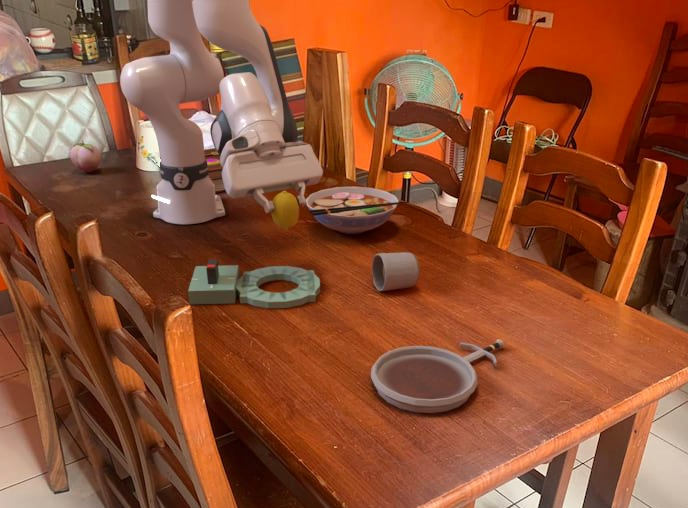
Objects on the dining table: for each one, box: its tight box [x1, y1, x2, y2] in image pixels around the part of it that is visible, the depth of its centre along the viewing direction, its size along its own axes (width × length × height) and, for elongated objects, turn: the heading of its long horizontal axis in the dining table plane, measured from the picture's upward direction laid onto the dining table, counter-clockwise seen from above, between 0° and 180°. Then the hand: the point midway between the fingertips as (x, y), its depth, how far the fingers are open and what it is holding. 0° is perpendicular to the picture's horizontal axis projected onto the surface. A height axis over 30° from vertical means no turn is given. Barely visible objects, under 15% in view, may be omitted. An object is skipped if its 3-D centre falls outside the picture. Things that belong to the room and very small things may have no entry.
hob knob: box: [206, 259, 219, 284], centre depth 136 cm, size 4×2×4 cm, turn 3°
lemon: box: [271, 190, 300, 231], centre depth 133 cm, size 6×6×8 cm
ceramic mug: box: [371, 251, 421, 292], centre depth 139 cm, size 11×8×8 cm
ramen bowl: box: [305, 186, 411, 235], centre depth 167 cm, size 25×23×8 cm
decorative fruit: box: [69, 139, 102, 174], centre depth 210 cm, size 9×8×10 cm
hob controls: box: [187, 264, 240, 305], centre depth 138 cm, size 12×9×3 cm
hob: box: [236, 265, 321, 309], centre depth 139 cm, size 17×17×2 cm
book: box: [204, 147, 226, 194], centre depth 206 cm, size 23×32×5 cm
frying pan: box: [370, 338, 505, 414], centre depth 111 cm, size 17×3×28 cm
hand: (286, 208), depth 132 cm, fingers closed on lemon, 5 cm apart
